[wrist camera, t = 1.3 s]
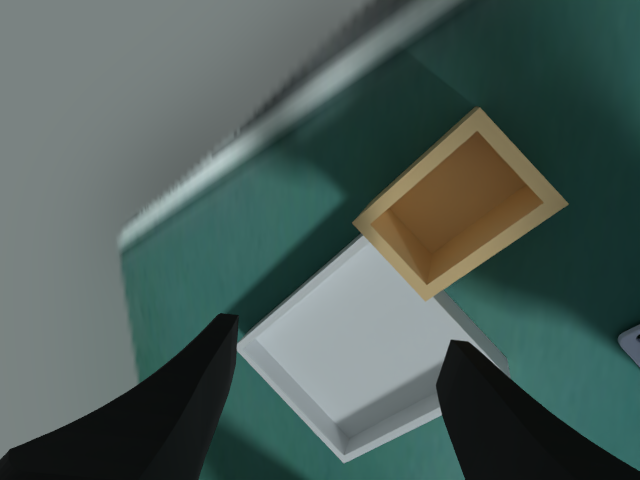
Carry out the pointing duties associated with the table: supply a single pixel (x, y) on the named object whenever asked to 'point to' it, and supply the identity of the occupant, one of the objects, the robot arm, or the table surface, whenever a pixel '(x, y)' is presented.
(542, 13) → the table surface
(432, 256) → the tan crate
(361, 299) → the white tray
